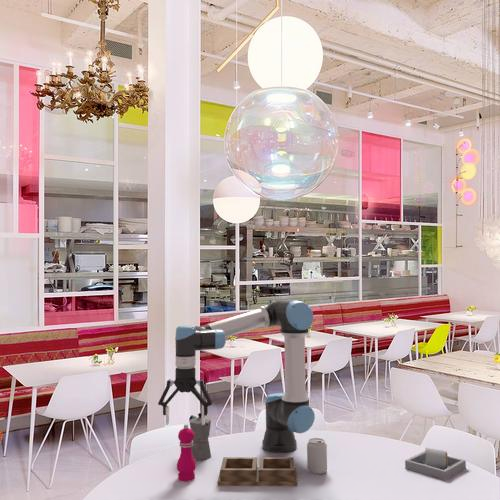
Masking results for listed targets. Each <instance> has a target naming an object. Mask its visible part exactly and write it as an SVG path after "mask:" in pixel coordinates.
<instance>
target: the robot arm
mask: <svg viewBox="0 0 500 500" xmlns="http://www.w3.org/2000/svg"><path fill="white" fill-rule="evenodd" d="M313 321H314V312H313V309H312V308H311V307H310V305H308V303H306V302H304V301H300V300H297V299H296V300H295V299H293V300H290V299H279V300H276V301H273V302H270V303H268V304H264V305H260V306H259V307H258V308H257V309H255V310H251V311H248V312H244V313H242V314H241V313H240V314H239V315H234V316H230V317H227V318H224V319H220V320H217V321H214V322H210V323H207V324H204V325H199V326H198V325H196V326H195V325H179V326H177V327H176V329H175V338H174V340H175V364H174V365H175V379H174V380H172V379H168V380H166V385H165V388H164V391H163V392H162V394H161V397H160V399H159V401H158V402H157V404H158V406H162V415H163V416H165V425H166V426H167V425H169V424H170V404H169V403H170V402H171V401H172V399H173V398H174V397H175V396H176V395H177V394H178V392H180V393H192V394H193V395H194V397H196V399H197V400H198V401H199V402H200V404H201V405H202V406H201V413H202V416H201V417H202V425H204V424H205V418H206V417H205V416H207V415H208V414H209V413H208V410H209V409H208V407H209V406H212V405H213V399H212V398H211V396H210V394H209V392H208V390H207V388H206V386H205V379H200V380H199V379H198V380H197V378H196V368H195V366H196V351H208V350H209V351H211V350H220V349H223V348H224V347H225V346H226V342H227V340H226V339H227V338H229V337H231V336H235V335H238V334H241V333H245V332H248V331H251V330H255V329H258V328H261V327H263V328H271V327H280V334H281V335H282V336H283V338H284V392H279V393H278V392H277V393H270V394H268V395H266V397H265V404H264V405H265V432H264V435H263V439H262V442H261V443H262V444H261V446H262V449H263V450H265V451H267V452H268V451H269V452H272V453H286V452H287V453H288V452H292V451H294V450H296V449H297V446H298V445H297V444H298V443H297V439H296V437H295V436H296V435H295V433H296V434H304V433H306V432H308V431H309V430H310V429H311V428H312V427H313V425H314V422H315V419H316V415H315V412H314V410H313V408H312V407H311V406H310V397H309V396H308V395H307V394H306V392H307V391H306V336H307V335H309V328H310V327H311V325H312V324H313ZM173 385H174V386H175V390H174V391H173V392H172V393H171V395H169V397H168V398H167V399H166V400H165V398H166V396H167V395H168V393H169V391H170V388H171V387H172V386H173ZM197 385H198V387H200V390H201V393H202V394H203V396H204V397H205V398H204V397H203V396H202V395H201V393H200V392H199V391H198V389H197V388H196V387H195V386H197Z"/></svg>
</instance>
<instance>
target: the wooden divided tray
mask: <svg viewBox="0 0 500 500" xmlns="http://www.w3.org/2000/svg"><path fill="white" fill-rule="evenodd" d="M258 461H259V463H258ZM298 486H299V480H298V471H297V467H295V460H294V457H291V456H290V457H286V456H285V457H282V456H281V457H280V456H279V457H278V456H276V457H274V456H273V457H267V456H265V457H262V456H261V457H259V460H258V457H256V456H255V457H253V456H251V457H249V456H247V457H245V456H243V457H238V456H236V457H235V456H234V457H232V456H231V457H230V456H229V457H228V456H227V457H226V456H224V457H222V461H221V465H220V468H219V474H218V479H217V487H298Z"/></svg>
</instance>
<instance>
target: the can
mask: <svg viewBox="0 0 500 500" xmlns="http://www.w3.org/2000/svg"><path fill="white" fill-rule="evenodd" d="M325 440H326V439H324V438H320V437H313V438H310V439H309V438H308V442H307V443H306V456H307V457H306V460H307V461H306V462H307V465H306V466H307V468H306V469H307V471H309V473H310V474H313V475H322V474H325V473H326V472H327V470H328V451H327V449H328V448H327V447H328V445H327V443H326V441H325Z"/></svg>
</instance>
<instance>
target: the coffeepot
mask: <svg viewBox="0 0 500 500" xmlns="http://www.w3.org/2000/svg"><path fill="white" fill-rule="evenodd" d="M197 416H198V417H197ZM197 416H195V415H193V414H192V415H190V417H189V420H188V421H189V426H190V428H189V429H191V430H193V432H194V438H193V440H192V441H193V446H192V455H193V457H194V459H195V461H205V460H209V459H210V458H211V457H212V453H211V447H210V442H209V437H210V431H211V424H212V420H211V418H209V417H205V424H204V425H202V412H199V413H198V415H197Z"/></svg>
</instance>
